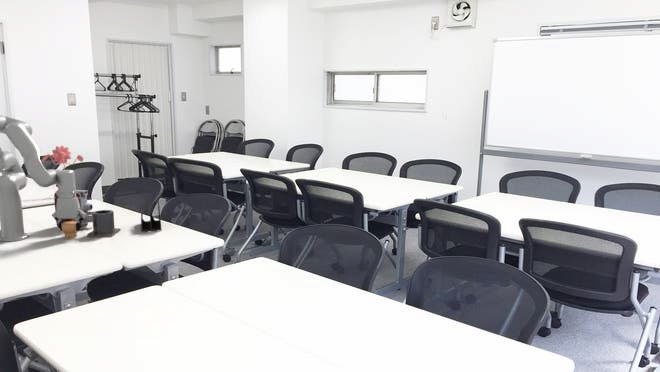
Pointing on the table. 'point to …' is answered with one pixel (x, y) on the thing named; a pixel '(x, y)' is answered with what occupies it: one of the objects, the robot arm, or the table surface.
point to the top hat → (103, 224)
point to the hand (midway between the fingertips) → (70, 230)
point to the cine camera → (83, 207)
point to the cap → (69, 229)
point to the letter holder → (151, 222)
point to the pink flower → (61, 156)
